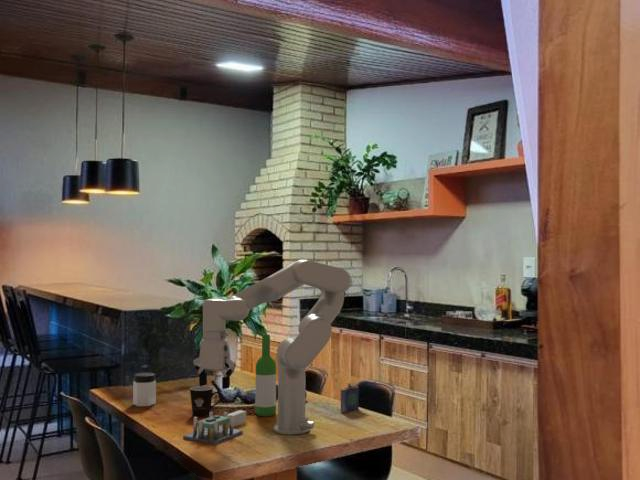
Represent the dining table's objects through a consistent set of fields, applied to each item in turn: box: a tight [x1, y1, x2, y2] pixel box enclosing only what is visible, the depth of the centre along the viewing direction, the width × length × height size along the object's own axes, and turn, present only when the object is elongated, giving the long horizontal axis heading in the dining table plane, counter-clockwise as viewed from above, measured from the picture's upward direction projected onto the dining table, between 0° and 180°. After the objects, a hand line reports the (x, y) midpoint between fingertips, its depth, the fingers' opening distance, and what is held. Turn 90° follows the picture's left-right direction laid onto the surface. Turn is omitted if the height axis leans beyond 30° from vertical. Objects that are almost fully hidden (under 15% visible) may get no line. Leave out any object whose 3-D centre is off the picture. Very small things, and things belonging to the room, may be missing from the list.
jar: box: [132, 372, 157, 407], centre depth 258 cm, size 9×8×12 cm
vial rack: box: [182, 411, 244, 446], centre depth 214 cm, size 13×15×6 cm
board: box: [197, 414, 230, 429], centre depth 214 cm, size 6×10×2 cm, turn 150°
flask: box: [340, 382, 360, 414], centre depth 249 cm, size 9×3×11 cm, turn 133°
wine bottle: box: [254, 334, 277, 417], centre depth 243 cm, size 8×8×30 cm
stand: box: [227, 409, 247, 428], centre depth 229 cm, size 3×8×4 cm, turn 150°
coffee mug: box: [189, 385, 224, 418], centre depth 242 cm, size 12×9×10 cm
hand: (214, 386), depth 215 cm, fingers open, 9 cm apart
